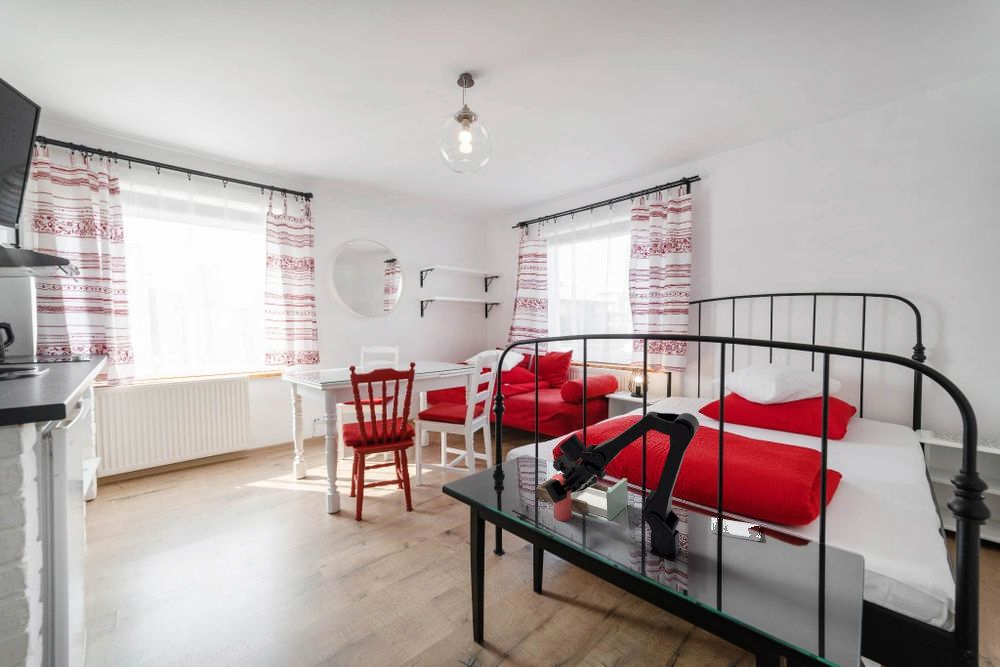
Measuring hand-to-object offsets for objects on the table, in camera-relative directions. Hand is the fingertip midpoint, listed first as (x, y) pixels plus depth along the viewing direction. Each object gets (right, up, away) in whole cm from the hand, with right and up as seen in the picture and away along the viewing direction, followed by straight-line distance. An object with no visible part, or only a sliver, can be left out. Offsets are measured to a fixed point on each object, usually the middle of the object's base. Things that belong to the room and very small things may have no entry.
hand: (559, 495), depth 136 cm
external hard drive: (+50, -6, -14) cm, 52 cm away
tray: (+12, -5, +6) cm, 15 cm away
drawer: (+7, -5, +11) cm, 14 cm away
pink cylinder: (+1, -7, -1) cm, 7 cm away
